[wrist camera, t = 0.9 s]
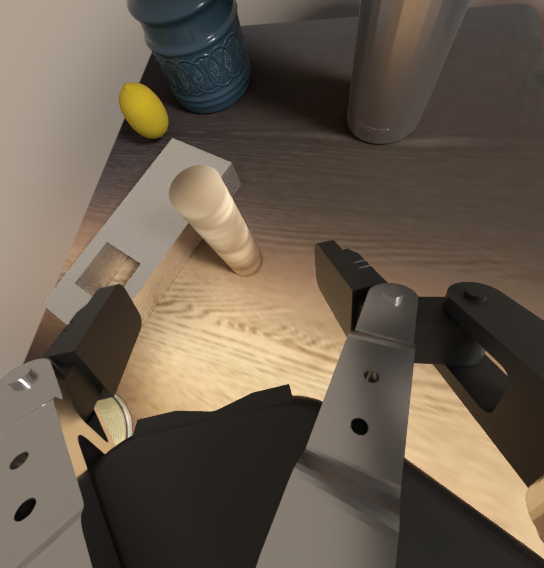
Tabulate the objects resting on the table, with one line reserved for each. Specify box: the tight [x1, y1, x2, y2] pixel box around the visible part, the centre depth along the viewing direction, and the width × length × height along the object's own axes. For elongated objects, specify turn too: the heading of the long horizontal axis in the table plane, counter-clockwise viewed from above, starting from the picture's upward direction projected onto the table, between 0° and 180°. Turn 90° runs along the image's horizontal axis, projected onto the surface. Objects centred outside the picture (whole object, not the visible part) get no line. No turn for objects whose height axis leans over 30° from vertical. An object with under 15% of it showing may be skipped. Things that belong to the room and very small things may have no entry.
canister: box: [127, 0, 251, 114], centre depth 33 cm, size 13×13×18 cm
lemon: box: [119, 83, 168, 139], centre depth 36 cm, size 6×6×8 cm
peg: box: [169, 165, 263, 277], centre depth 25 cm, size 4×4×14 cm
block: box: [43, 138, 241, 325], centre depth 32 cm, size 26×10×4 cm, turn 148°
